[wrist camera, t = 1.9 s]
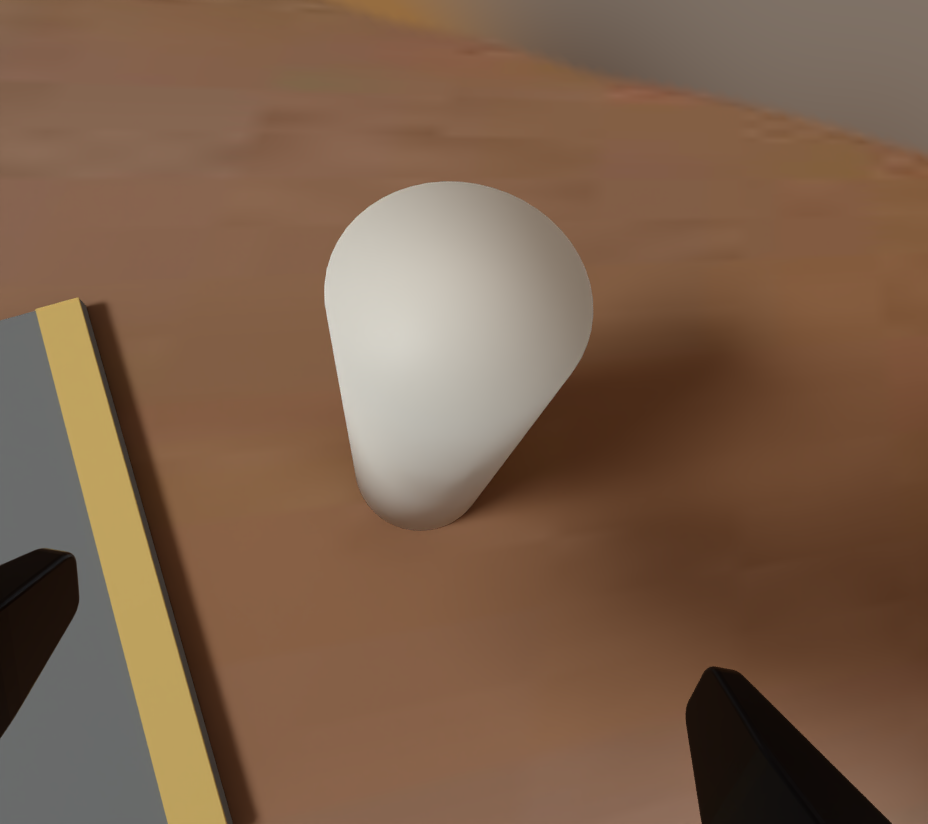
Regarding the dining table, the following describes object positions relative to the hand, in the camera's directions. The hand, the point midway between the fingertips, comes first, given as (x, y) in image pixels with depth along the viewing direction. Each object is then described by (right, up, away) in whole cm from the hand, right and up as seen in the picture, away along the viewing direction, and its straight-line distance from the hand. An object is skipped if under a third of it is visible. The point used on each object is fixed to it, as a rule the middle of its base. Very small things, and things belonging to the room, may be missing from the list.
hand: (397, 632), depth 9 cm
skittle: (-1, +1, +13) cm, 13 cm away
